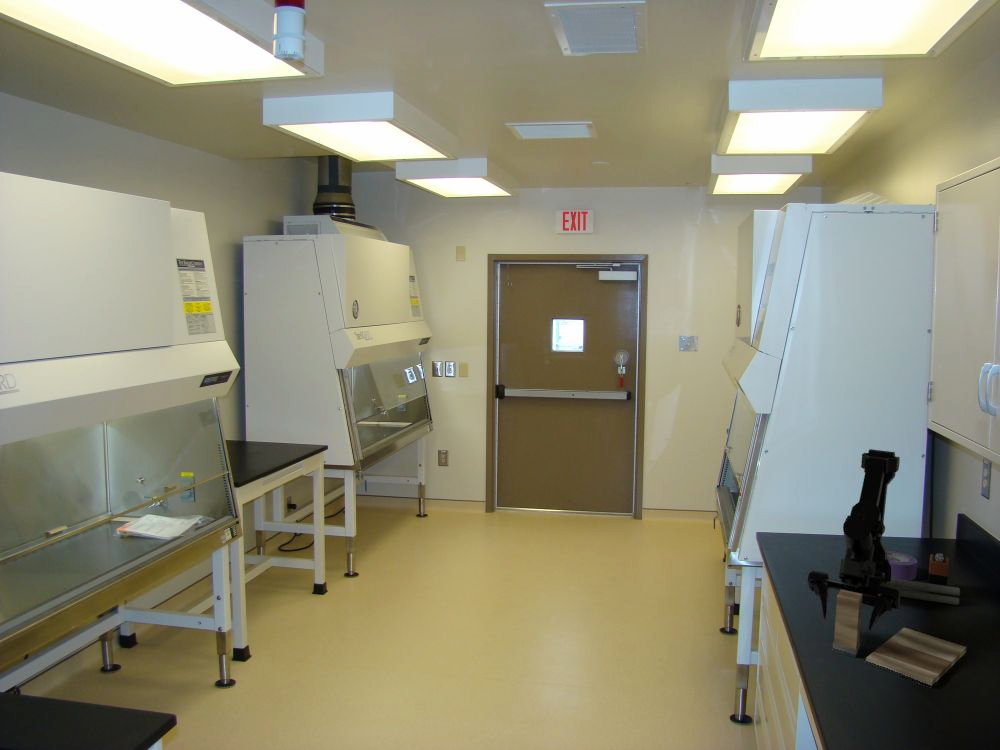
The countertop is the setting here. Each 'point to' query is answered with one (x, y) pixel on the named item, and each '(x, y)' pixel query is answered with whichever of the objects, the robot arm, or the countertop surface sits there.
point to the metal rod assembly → (926, 587)
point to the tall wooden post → (847, 621)
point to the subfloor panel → (917, 655)
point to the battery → (938, 570)
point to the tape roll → (902, 565)
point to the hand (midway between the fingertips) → (846, 624)
